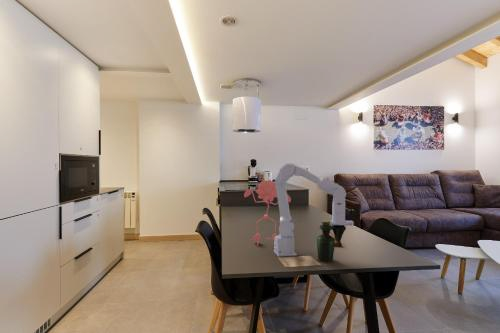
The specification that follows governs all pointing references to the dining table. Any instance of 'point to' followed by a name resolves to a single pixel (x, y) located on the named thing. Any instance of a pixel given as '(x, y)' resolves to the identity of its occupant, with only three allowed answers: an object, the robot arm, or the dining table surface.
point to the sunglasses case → (337, 244)
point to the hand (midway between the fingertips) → (337, 241)
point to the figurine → (265, 200)
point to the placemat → (298, 261)
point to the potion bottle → (325, 243)
